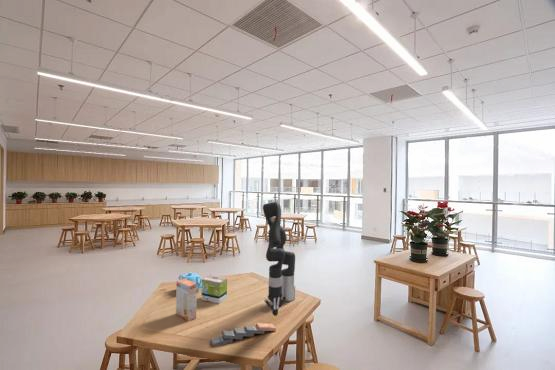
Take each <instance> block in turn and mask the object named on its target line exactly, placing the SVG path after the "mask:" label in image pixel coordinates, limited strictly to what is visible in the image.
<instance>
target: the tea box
mask: <svg viewBox="0 0 555 370" xmlns="http://www.w3.org/2000/svg"><path fill="white" fill-rule="evenodd" d="M201 285H202V288H201V300H202V301H207V302H211V303H214V304H221V303H222V302H223V301H225V300H227V298H228V278H227V277H222V276H218V275H217V276H215V275H208V276H206V277H204V278H202V282H201Z"/></svg>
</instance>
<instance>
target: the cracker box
mask: <svg viewBox="0 0 555 370" xmlns="http://www.w3.org/2000/svg"><path fill="white" fill-rule="evenodd" d="M175 290H176V291H175V292H176V295H175V303H176V304H175V314H176V315H177V316H178V315H179V317H180V316H181V317H180V318H182V319H183V318H184V319H183V320H185V321H187V322H189V321H192V320H195V319H196V318H197V291H198V290H197V284H196V283H194V282H191V281H189V280H186V279H182V280H179V279H178V280H176V289H175Z"/></svg>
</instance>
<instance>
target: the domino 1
mask: <svg viewBox="0 0 555 370" xmlns="http://www.w3.org/2000/svg"><path fill="white" fill-rule="evenodd" d="M233 342H234V339H224V337H223V335H221V336H216V337H211V338H210V343H211V346H212V345H213V346H214V347H218V346H217V345H219V346H222V345H226V344H230V343H233ZM213 346H212V347H213Z"/></svg>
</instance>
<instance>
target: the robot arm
mask: <svg viewBox="0 0 555 370" xmlns="http://www.w3.org/2000/svg"><path fill="white" fill-rule="evenodd" d="M262 212H263V215H264V217H265V218H264V219H265V220H266V221H267V224H268V227H269V230H268V235H267V236H268V247H267V249H266V253H265V258H266V261H268V262H277V263H274V264H271V265H269V267H268V268H269V269H268V295H267V298H266V299H264V303H265V304H266V305H267V307H269V309H271V310H272V311H271V312H272V315H273V316H274V317H276V316H278V314H279V308H282V306H283V304H284V303H285V302H292V301H294V300H296V285H295V270H296V254H295V253H294V252H293V251H286V250H285V248H284V246H285V244H286V242H287V239H288V237H287V234H286V230H285V229H284V227H283V226H282V225H281V222H282V207H281V204H280V202H278V201H273V202H269V203H268V202H267V203H265V204H263V205H262ZM283 265H285V266H287V268H284V269H283Z"/></svg>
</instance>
